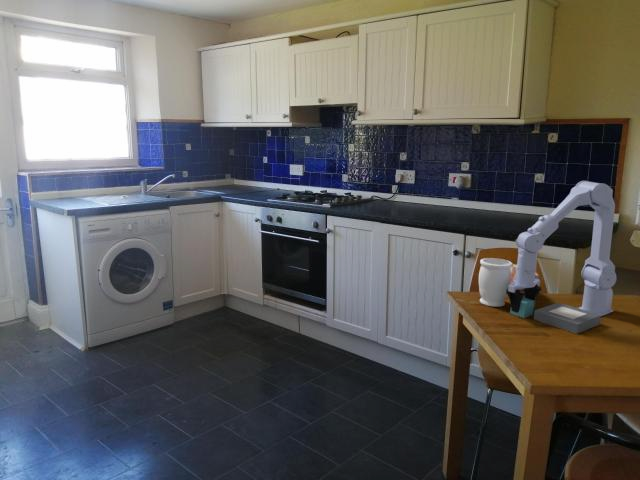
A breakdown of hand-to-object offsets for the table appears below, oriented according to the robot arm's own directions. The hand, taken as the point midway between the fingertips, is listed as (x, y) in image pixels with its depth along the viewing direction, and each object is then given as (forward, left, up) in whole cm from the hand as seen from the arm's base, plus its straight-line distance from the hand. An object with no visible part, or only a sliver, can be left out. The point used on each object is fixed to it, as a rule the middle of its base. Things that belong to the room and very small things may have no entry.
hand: (521, 309), depth 165 cm
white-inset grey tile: (-6, +12, -2) cm, 14 cm away
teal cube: (0, 0, -2) cm, 2 cm away
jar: (-1, -12, -2) cm, 12 cm away
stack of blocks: (-14, -10, -2) cm, 17 cm away
